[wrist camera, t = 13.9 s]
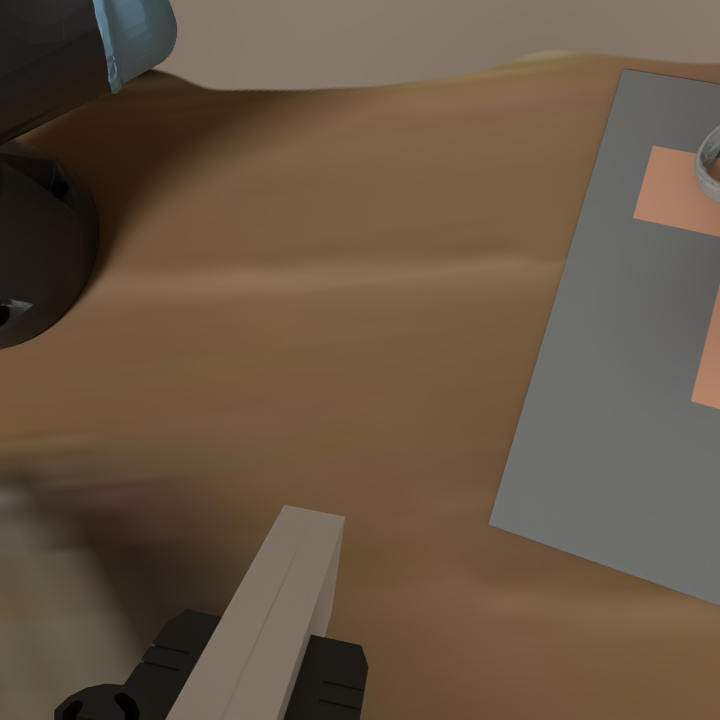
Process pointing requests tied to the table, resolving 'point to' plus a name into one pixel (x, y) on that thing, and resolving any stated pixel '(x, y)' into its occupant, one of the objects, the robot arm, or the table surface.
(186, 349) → the table surface
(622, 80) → the t mat
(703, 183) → the ceramic mug
